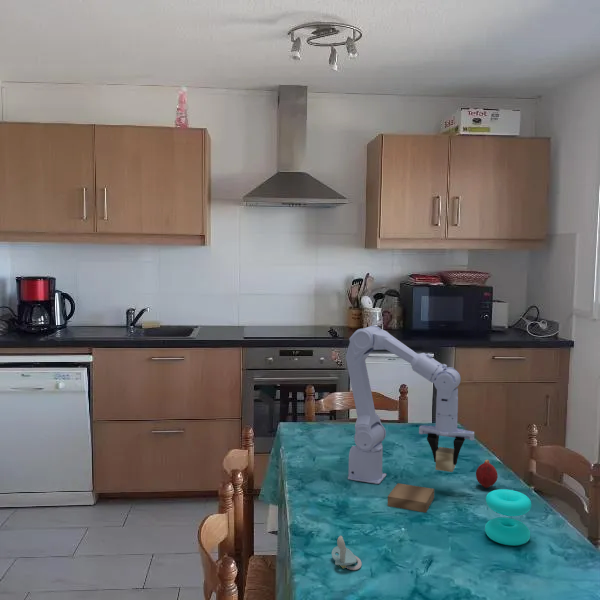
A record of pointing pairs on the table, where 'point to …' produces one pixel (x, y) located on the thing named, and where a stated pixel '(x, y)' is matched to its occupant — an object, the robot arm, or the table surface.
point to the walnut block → (411, 497)
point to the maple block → (445, 459)
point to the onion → (486, 474)
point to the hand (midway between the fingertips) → (445, 462)
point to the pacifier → (345, 556)
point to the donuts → (504, 527)
